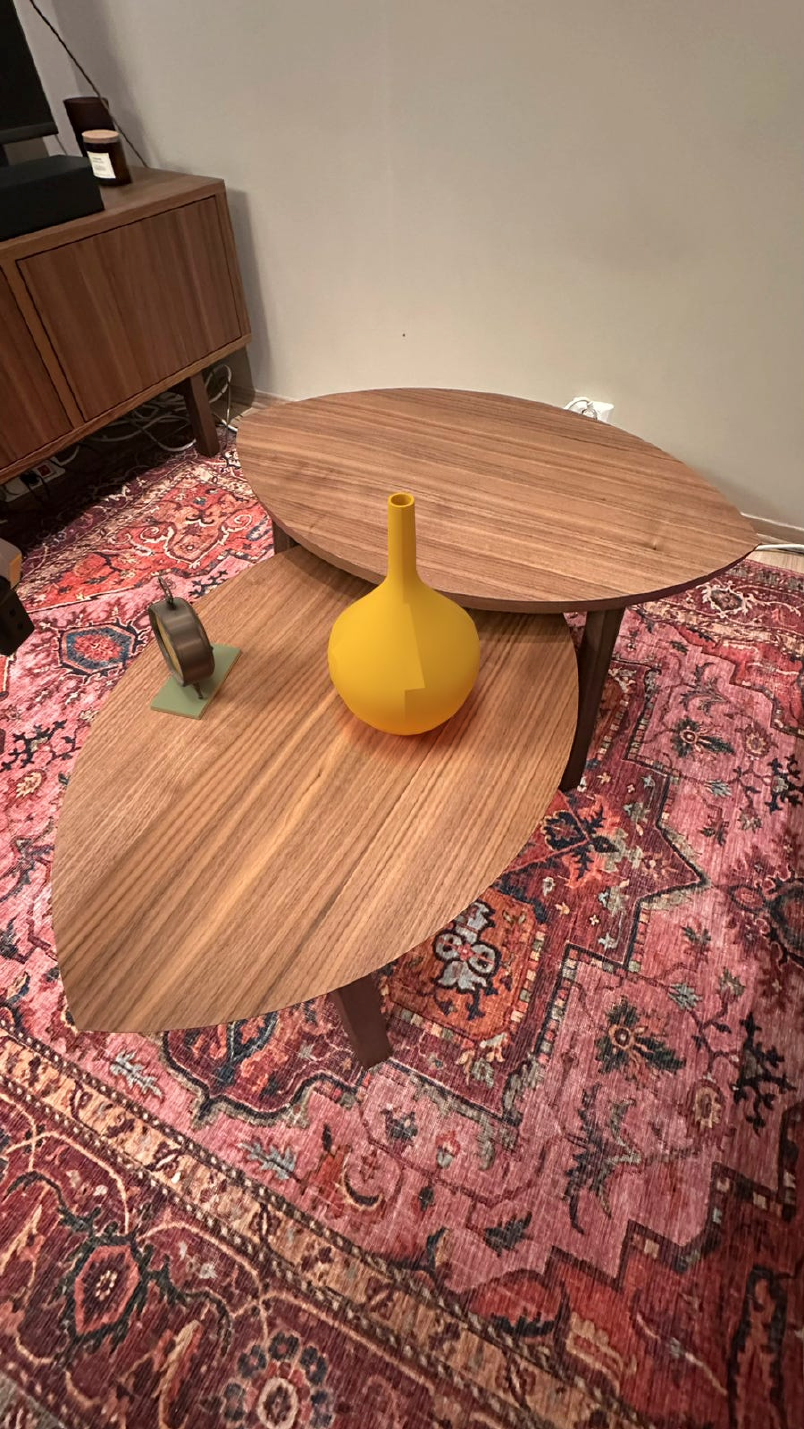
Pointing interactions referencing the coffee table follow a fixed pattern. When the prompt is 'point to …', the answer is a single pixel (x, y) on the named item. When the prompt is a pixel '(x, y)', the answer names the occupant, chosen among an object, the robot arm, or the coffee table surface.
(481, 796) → the coffee table surface
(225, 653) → the green rectangular slab
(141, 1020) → the coffee table surface
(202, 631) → the alarm clock
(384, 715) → the vase
